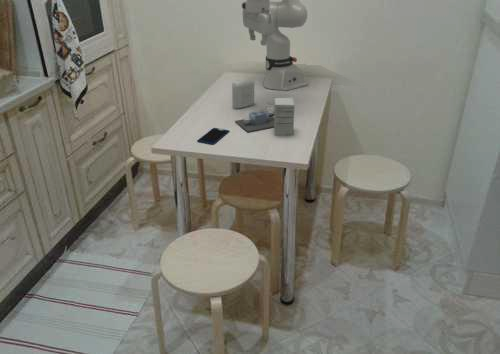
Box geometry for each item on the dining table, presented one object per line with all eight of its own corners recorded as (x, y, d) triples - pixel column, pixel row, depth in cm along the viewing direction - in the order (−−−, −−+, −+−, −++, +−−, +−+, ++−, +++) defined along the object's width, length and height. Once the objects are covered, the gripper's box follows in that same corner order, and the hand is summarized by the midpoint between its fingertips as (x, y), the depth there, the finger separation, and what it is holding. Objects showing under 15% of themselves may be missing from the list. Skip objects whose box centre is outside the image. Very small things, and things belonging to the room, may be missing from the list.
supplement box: (273, 128, 188) (274, 97, 182) (292, 128, 188) (293, 97, 182) (274, 135, 182) (274, 104, 176) (293, 135, 182) (294, 104, 176)
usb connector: (272, 117, 196) (273, 108, 194) (277, 120, 193) (277, 111, 191) (242, 123, 191) (242, 114, 189) (246, 126, 188) (246, 117, 186)
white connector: (267, 108, 207) (267, 102, 205) (274, 108, 206) (274, 102, 205) (266, 117, 198) (266, 110, 197) (274, 117, 198) (274, 110, 197)
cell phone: (230, 132, 186) (230, 130, 186) (213, 146, 175) (213, 144, 175) (213, 129, 189) (213, 127, 188) (196, 142, 178) (196, 141, 177)
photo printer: (250, 102, 214) (250, 75, 208) (255, 105, 211) (255, 78, 204) (231, 107, 209) (230, 79, 203) (236, 110, 206) (235, 82, 200)
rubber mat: (269, 115, 200) (269, 114, 199) (283, 125, 190) (283, 124, 190) (234, 122, 194) (234, 120, 193) (247, 132, 184) (247, 131, 184)
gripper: (278, 10, 176) (277, 47, 183) (253, 1, 192) (253, 36, 199) (263, 11, 174) (262, 49, 181) (239, 3, 190) (240, 38, 197)
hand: (258, 42), depth 190 cm, fingers open, 8 cm apart
